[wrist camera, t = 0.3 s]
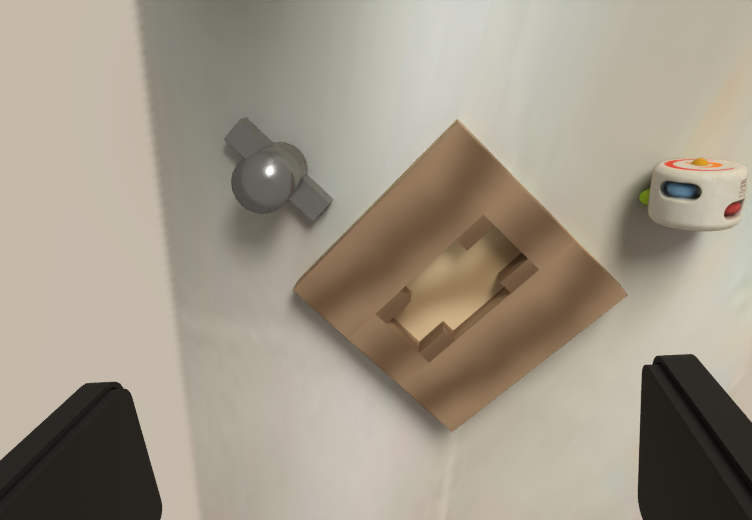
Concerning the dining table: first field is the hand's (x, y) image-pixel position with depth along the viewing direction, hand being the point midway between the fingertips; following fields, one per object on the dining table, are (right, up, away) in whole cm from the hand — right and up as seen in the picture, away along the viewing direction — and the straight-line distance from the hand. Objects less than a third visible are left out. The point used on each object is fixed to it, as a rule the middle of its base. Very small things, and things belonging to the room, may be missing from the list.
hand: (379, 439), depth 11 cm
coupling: (-7, +10, +35) cm, 37 cm away
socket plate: (+6, +2, +37) cm, 37 cm away
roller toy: (+22, +9, +32) cm, 40 cm away
